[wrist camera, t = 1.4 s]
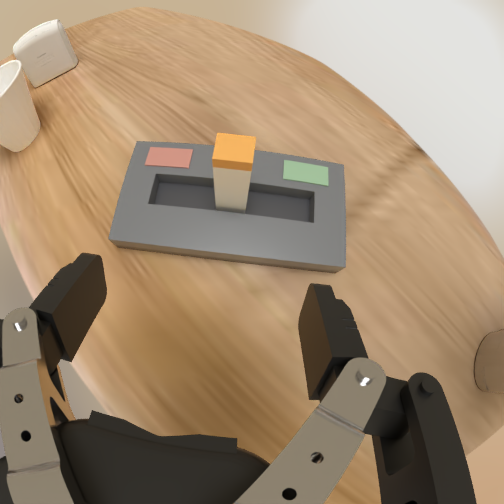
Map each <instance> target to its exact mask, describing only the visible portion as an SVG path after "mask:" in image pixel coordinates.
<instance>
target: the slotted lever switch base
mask: <svg viewBox="0 0 504 504" xmlns="http://www.w3.org/2000/svg"><path fill="white" fill-rule="evenodd" d="M214 147H215V146H213V145H201V144H187V143H170V142H145V141H137V143H136V146H135V148H134V151H133V154H132V157H131V160H130V163H129V166H128V169H127V172H126V176H125V179H124V182H123V185H122V189H121V192H120V196H119V199H118V203H117V207H116V210H115V214H114V218H113V222H112V226H111V230H110V235H109V240H110V241H111V242H112V243H114V244H115V245H116V246H117V247H119V248H127V249H135V250H143V251H151V252H159V253H167V254H175V255H183V256H191V257H199V258H207V259H216V260H224V261H233V262H241V263H250V264H258V265H267V266H276V267H285V268H294V269H303V270H312V271H321V272H330V273H336V272H338V271H340V270H342V269H343V268H345V267H346V207H345V180H344V165H342V164H337V163H332V162H327V161H321V160H316V159H310V158H305V157H299V156H293V155H286V154H280V153H273V152H266V151H258V150H254V158H253V165H252V172H251V178H250V184H249V191H248V197H247V204H246V210H245V214H241V213H233V212H224V211H216V203H215V191H214V178H213V164H212V157H213V152H214Z"/></svg>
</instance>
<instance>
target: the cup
mask: <svg viewBox="0 0 504 504" xmlns="http://www.w3.org/2000/svg"><path fill="white" fill-rule="evenodd" d="M39 130H40V121H39V118H38V115H37V112H36V110H35V107H34V104H33V101H32V98H31V95H30V92H29V89H28V86H27V83H26V80H25V76H24V73H23V69H22V64H21V61H19V60H12V61H9V62H7V63H5V64H3V65H2V66H0V145H2V146H4V147H5V148H7V149H9V150H11V151H12V152H19V151H22V150H23V149H25V148H26V147H28V146H29V145H30V144H31V143H32V141H33V140H34V139H35V138H36V136H37V134H38V132H39Z"/></svg>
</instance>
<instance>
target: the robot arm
mask: <svg viewBox="0 0 504 504" xmlns="http://www.w3.org/2000/svg"><path fill="white" fill-rule="evenodd" d="M106 295H107V287H106V281H105V275H104V268H103V262H102V258H101V256H100V255H95V254H89V253H81V254H80V255H79V257H78V258H77V259H76V260H75V261H74V262H73V263H70V264H68V265H67V266H65V267H63V268H62V269H60V270H59V271H58V273H57V274H56V275H55V276H54V277H53V279H52V280H51V281H50V282H49V283H48V286H46V287H45V288H44V289H43V290H42V292H41V293H40V294H39V295H38V297H37V298H36V299H35V300H34V302H33V303H32V304H31V306H30V307H29V308H18V309H15V310H13V311H12V312H10V313H9V314H8V315H7V316H6V317H5V319H3V320H1V319H0V427H1V433H2V439H3V444H4V449H5V454H6V456H4V457H3V458H1V459H0V504H323V503H324V502H325V501H326V499H327V498H328V496H329V495H330V493H331V492H332V490H333V489H334V487H335V486H336V484H337V483H338V481H339V480H340V478H341V477H342V475H343V473H344V472H345V470H346V468H347V467H348V465H349V463H350V462H351V460H352V458H353V457H354V455H355V453H356V451H357V450H358V448H359V446H360V444H361V442H362V440H363V438H364V436H365V434H369V435H372V440H373V446H374V452H375V458H376V465H377V471H378V479H379V486H380V494H381V503H382V504H476V498H475V494H474V489H473V485H472V481H471V476H470V472H469V468H468V465H467V461H466V457H465V454H464V450H463V447H462V444H461V440H460V437H459V434H458V431H457V428H456V425H455V422H454V419H453V416H452V413H451V411H450V408H449V405H448V402H447V400H446V397H445V394H444V392H443V389H442V387H441V385H440V383H439V382H438V381H437V379H435V378H434V377H433V376H431V375H429V374H427V373H416V374H414V375H413V376H411V378H410V379H409V380H408V382H407V381H403V380H399V379H395V378H391V377H387V376H386V375H385V372H384V370H383V369H382V367H381V366H380V365H379V364H377V363H376V362H374V361H373V360H370V359H369V358H368V356H367V353H366V350H365V347H364V344H363V342H362V339H361V336H360V333H359V331H358V329H357V325H356V323H355V321H354V317H353V315H352V312H351V309H350V308H349V307H348V306H347V305H346V304H345V302H344V301H343V300H340V299H336V298H335V295H334V293H333V290H332V287H331V286H330V285H322V284H313V283H311V284H310V285H309V287H308V290H307V294H306V297H305V300H304V303H303V306H302V309H301V313H300V316H299V324H298V329H299V336H300V342H301V348H302V355H303V361H304V368H305V374H306V381H307V388H308V395H309V400H320V404H319V406H318V407H316V409H315V410H314V411H313V413H312V414H311V415H310V417H309V418H308V419H307V421H306V422H305V423H304V425H303V426H302V427H301V428H300V430H299V431H298V432H297V434H296V435H295V436H294V437H293V439H292V440H291V441H290V442H289V443H288V445H287V446H286V447H285V448H284V450H283V451H282V452H281V453H280V454H279V455H278V457H277V458H276V459H275V460H274V461H273V462H272V464H271V465H270V464H269V463H268V462H267V461H265V460H264V459H262V458H261V457H259V456H257V455H255V454H254V453H252V452H249V451H247V450H244V449H241V448H238V447H237V438H226V437H217V436H208V435H200V434H198V435H183V436H157V435H154V434H152V433H150V432H148V431H146V430H144V429H142V428H140V427H138V426H136V425H134V424H132V423H130V422H128V421H126V420H124V419H120V418H116V417H113V416H109V415H106V414H102V413H99V412H96V411H93V410H92V412H91V415H90V418H89V419H77V420H76V419H75V417H74V415H73V413H72V410H71V408H70V405H69V402H68V398H67V395H66V392H65V387H64V384H63V380H62V376H61V372H60V368H59V366H58V363H59V361H60V359H63V360H66V361H69V362H72V360H73V358H74V356H75V354H76V352H77V350H78V349H79V347H80V345H81V343H82V341H83V339H84V337H85V336H86V334H87V332H88V330H89V328H90V326H91V325H92V323H93V321H94V319H95V318H96V316H97V314H98V312H99V311H100V309H101V307H102V306H103V304H104V302H105V299H106ZM475 380H476V383H477V385H478V387H479V388H480V389H481V390H482V391H486V392H495V393H503V394H504V329H501V330H500V331H497V332H491V333H490V334H488V335H487V336H486V337H485V338H484V340H483V341H482V343H481V345H480V347H479V349H478V352H477V356H476V361H475Z"/></svg>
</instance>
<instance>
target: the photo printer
mask: <svg viewBox="0 0 504 504" xmlns="http://www.w3.org/2000/svg"><path fill="white" fill-rule="evenodd" d="M13 52H14V55H15V57H16V59H17V60H19V61H21V64H22V69H23V71H24V72H25V74H26V75H27V77H28V79H29V80H30V82H31V83H32V85H33V86H34V87H35V88H36V87H38V86H40V85H42V84H44V83H46V82H48V81H49V80H51V79H53V78H55V77H57V76H59V75H61V74H62V73H64V72H66V71H68V70H70V69H72V68H74V67H75V66H76V65H77V63H78V59H77V57H76V55H75V52H74V50H73V48H72V45H71V43H70V41H69V39H68V36H67V34H66V32H65V29H64V27H63V25H62V24H61V22H60V21H59V20H58V19H57V20H52V21H48V22H45V23H43V24H41V25H38V26H36V27H35V28H33V29H31V30H30V31H28V32H27V33H25V34H24V35H23V36H22V37H21V38H20V39H19V40H18V41H17V42H16V43H15V44H14V47H13Z"/></svg>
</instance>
